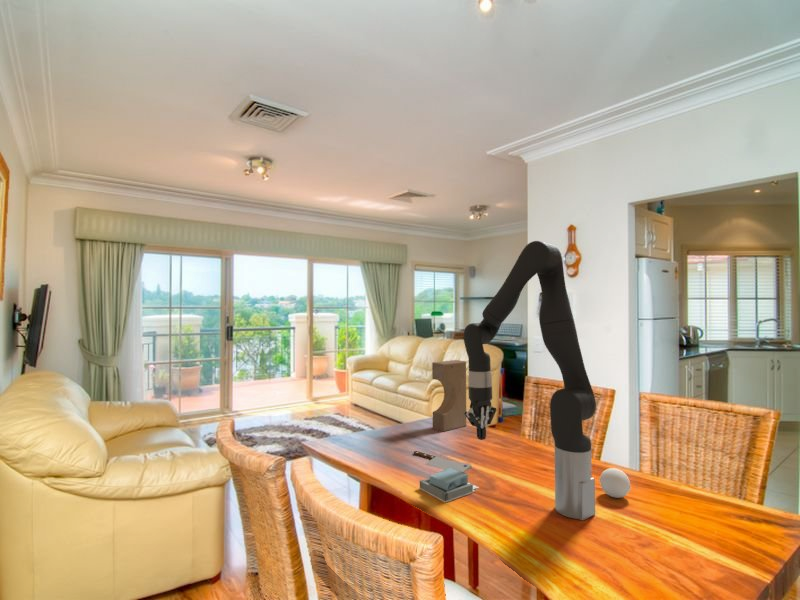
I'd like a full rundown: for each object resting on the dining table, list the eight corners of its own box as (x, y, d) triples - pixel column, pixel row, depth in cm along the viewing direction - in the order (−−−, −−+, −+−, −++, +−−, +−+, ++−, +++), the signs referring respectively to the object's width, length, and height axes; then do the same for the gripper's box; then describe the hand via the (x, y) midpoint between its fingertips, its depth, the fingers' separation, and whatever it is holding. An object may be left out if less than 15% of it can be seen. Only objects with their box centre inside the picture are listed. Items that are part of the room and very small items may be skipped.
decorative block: (455, 422, 205) (454, 359, 205) (466, 426, 199) (466, 361, 199) (432, 428, 195) (431, 362, 196) (443, 432, 189) (443, 364, 190)
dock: (482, 489, 130) (482, 481, 130) (445, 503, 121) (445, 494, 121) (456, 477, 139) (456, 469, 139) (419, 489, 130) (419, 480, 130)
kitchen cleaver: (402, 457, 157) (419, 448, 164) (402, 459, 157) (419, 451, 164) (458, 475, 140) (474, 464, 148) (458, 478, 141) (474, 467, 148)
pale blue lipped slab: (469, 488, 130) (468, 473, 130) (447, 498, 123) (447, 482, 123) (451, 481, 135) (451, 467, 135) (429, 490, 128) (429, 475, 128)
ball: (594, 491, 128) (594, 464, 128) (619, 490, 129) (619, 463, 129) (609, 503, 120) (609, 474, 120) (636, 502, 121) (636, 473, 121)
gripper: (474, 388, 132) (475, 445, 131) (502, 383, 139) (504, 437, 139) (457, 385, 138) (458, 440, 137) (485, 381, 145) (486, 433, 145)
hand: (481, 438), depth 138 cm, fingers closed
